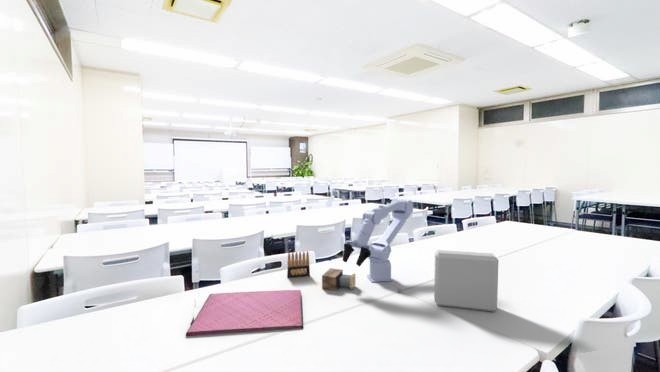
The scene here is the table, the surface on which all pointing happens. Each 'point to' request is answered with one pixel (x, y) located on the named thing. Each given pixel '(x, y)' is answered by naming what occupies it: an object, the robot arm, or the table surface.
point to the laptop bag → (248, 312)
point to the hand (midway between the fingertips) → (350, 263)
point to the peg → (347, 280)
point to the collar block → (331, 279)
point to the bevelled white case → (466, 280)
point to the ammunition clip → (298, 266)
